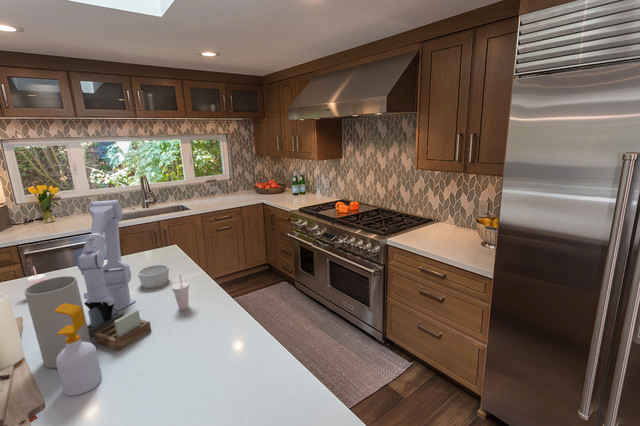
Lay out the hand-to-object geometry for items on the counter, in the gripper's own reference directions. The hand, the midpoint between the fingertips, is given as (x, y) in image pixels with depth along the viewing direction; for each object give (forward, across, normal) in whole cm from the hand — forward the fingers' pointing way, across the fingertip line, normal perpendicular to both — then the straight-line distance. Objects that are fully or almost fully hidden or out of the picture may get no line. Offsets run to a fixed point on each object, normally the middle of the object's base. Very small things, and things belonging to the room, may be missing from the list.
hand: (103, 319), depth 121 cm
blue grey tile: (+4, 0, 0) cm, 4 cm away
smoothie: (+4, +16, +22) cm, 27 cm away
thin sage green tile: (+4, +16, -1) cm, 16 cm away
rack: (+4, +12, -1) cm, 13 cm away
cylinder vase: (+4, +5, -15) cm, 16 cm away
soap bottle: (+4, +23, -21) cm, 31 cm away
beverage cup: (+4, -55, +6) cm, 55 cm away
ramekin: (+4, -15, +34) cm, 37 cm away
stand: (+4, 0, 0) cm, 4 cm away
